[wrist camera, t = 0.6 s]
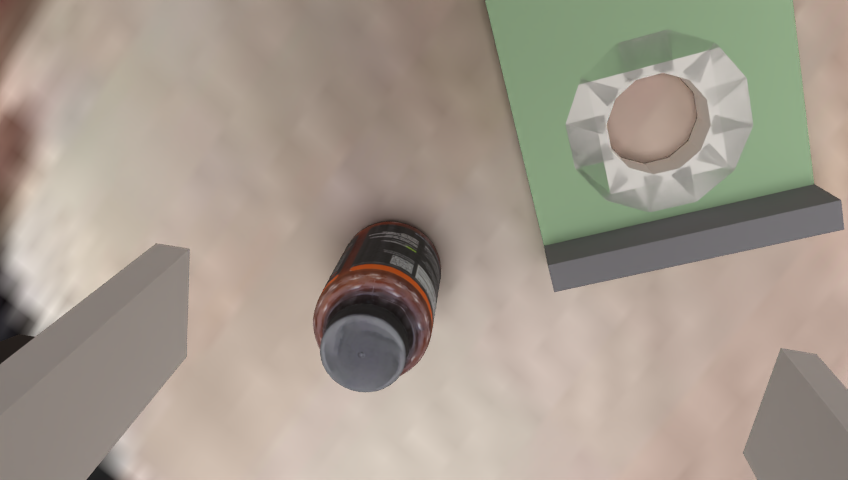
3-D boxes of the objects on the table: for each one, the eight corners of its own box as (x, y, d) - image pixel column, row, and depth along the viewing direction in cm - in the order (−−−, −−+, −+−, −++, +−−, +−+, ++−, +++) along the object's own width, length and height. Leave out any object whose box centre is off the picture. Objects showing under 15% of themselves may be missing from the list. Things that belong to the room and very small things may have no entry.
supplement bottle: (349, 311, 44) (303, 412, 33) (339, 220, 42) (287, 296, 31) (445, 309, 43) (430, 412, 33) (440, 216, 41) (421, 292, 31)
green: (430, -229, 34) (419, -269, 29) (731, -335, 32) (777, -400, 27) (548, 262, 42) (556, 300, 37) (799, 206, 39) (845, 238, 34)
